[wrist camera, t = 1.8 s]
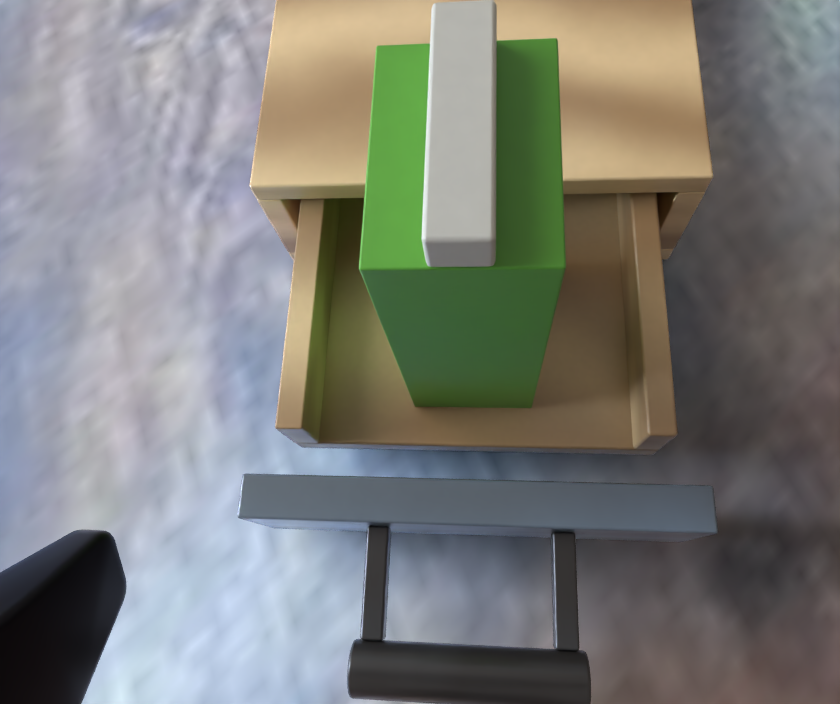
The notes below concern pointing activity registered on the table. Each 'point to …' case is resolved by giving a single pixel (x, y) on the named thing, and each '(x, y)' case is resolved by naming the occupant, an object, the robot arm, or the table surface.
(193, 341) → the table surface
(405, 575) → the table surface
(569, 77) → the cabinet
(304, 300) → the drawer
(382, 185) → the green block white ridge
